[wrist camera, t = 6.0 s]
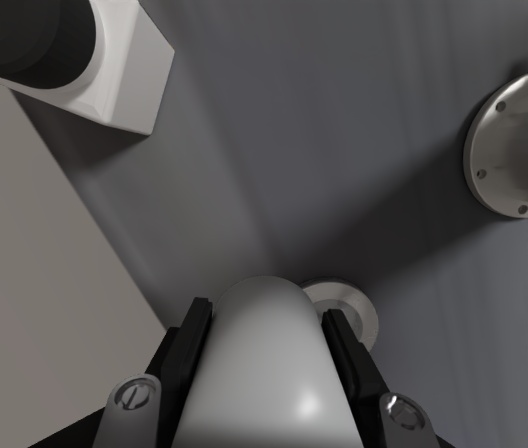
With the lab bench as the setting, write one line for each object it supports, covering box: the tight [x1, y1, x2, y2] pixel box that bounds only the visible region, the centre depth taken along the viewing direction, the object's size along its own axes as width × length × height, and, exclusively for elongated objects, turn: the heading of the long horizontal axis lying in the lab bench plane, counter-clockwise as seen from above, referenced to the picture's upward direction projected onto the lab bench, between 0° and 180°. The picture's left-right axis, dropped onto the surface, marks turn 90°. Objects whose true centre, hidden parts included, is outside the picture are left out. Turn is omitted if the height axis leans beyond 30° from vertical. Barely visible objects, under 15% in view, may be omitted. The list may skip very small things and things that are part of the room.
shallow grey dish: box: [298, 277, 379, 352], centre depth 26 cm, size 10×10×2 cm
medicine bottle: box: [0, 0, 174, 135], centre depth 16 cm, size 7×7×12 cm
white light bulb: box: [171, 276, 364, 448], centre depth 9 cm, size 6×5×6 cm
